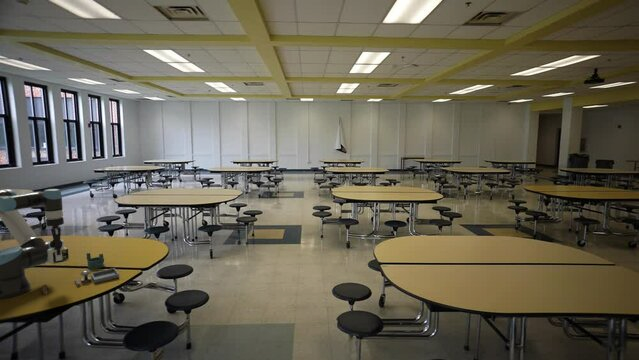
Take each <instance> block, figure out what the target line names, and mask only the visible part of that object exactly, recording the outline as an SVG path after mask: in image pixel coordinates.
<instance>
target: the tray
mask: <svg viewBox="0 0 639 360" xmlns="http://www.w3.org/2000/svg"><path fill="white" fill-rule="evenodd" d="M90 277H91V281H92V282H93V284H94V285H96V284H101V283H104V282H109V281H113V280H117V279H120V274H119V272H118V271H117V269H116V268H115V267H113V268H110V269H104V270H100V271H95V272H92V273H91V272H90Z"/></svg>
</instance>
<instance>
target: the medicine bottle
mask: <svg viewBox="0 0 639 360" xmlns="http://www.w3.org/2000/svg"><path fill="white" fill-rule="evenodd" d="M60 240H61V247H62V248H61V250H62V260H60V261H56V256H55V250H54V248H55V242H54V240H53V239H52V240H51V241H49V242H50V249H48V250H47V252H48V262H47V263H50V264H52V265H57V264H58V265H59V264H60V263H64V262H69V261H70V257H69V256H70V255H69V249H68V247H65V241H64V239H61V238H60ZM57 247H59V246H57Z"/></svg>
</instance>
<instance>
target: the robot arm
mask: <svg viewBox="0 0 639 360" xmlns="http://www.w3.org/2000/svg"><path fill="white" fill-rule="evenodd" d="M62 197H63V196H62V191H61V190H60V188H59V189H58V188H49V189H45V190H43V191H32V192H30V193H23V194H17V193H16V192H15V191H14V190H12V189H7V188H6V189H0V220H1V221H2V223H3V224H4V225H5V227H6V229H8V231H9V232H10V234H11V235H12V237H13V238H14V240H15V241H16V242H17V244H18V245H19V246H12V247H8V248H7V247H6V248H4V249H2V250H0V299H1V300H2V299H8V298H13V297H17V296H21V295H22V294H25V293H27V292H28V291H30V290H31V288H32V286H31V282H30V281H29V279H28V278H27V276H26V273H25V271H26V270H28V269H30V268H34V267H36V266H37V267H38V266H40V265H44V264H46V263H49V262H48V252H47V250H48V249H50V242H51V241H49V240H48V241H45V240H44V239H43V238H42V237H38V236H37V234H36V233H35V232H34V231H33V229H32V227H31V226H30V225H29V223H28V222H27V221H26V219H25V218H24V216H23V215H22V214H21V213H20V211H19V210H23V209H24V210H25V209H30V208H36V207H44V214H45V215H44V217H45V223H46V226H47V227H51V228H50V232H51V236H52V241H53V240H54V242H55V248H54V250H55V256H56V261H60V260H62V250H61V248H62V247H61V240H60V239H61V236H62V235H61V231H62V230H61V227H60V226H63V225H64V223H65V221H64V212H65V210H63V198H62ZM57 246H59V247H57Z"/></svg>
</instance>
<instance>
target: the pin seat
mask: <svg viewBox="0 0 639 360" xmlns="http://www.w3.org/2000/svg"><path fill="white" fill-rule="evenodd" d="M74 282H75V284H76V288H77V287H78V286H79V287H81V285H82V284H81V283H82V282H81V280H80V279H79V277H76V278H74ZM42 292H43V296H44V295H47V294H48V289H47V285H46V284H45V285H42Z"/></svg>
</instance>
